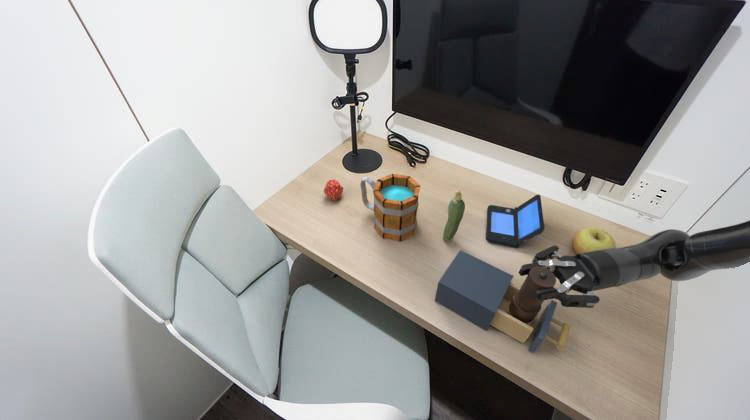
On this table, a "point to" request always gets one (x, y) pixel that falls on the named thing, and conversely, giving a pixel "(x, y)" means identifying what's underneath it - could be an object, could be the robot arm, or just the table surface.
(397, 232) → the mug
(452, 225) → the vegetable
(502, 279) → the cabinet
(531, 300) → the pepper mill
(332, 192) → the red bumpy fruit
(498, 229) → the game console
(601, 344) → the table surface
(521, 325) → the drawer
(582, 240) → the apple
